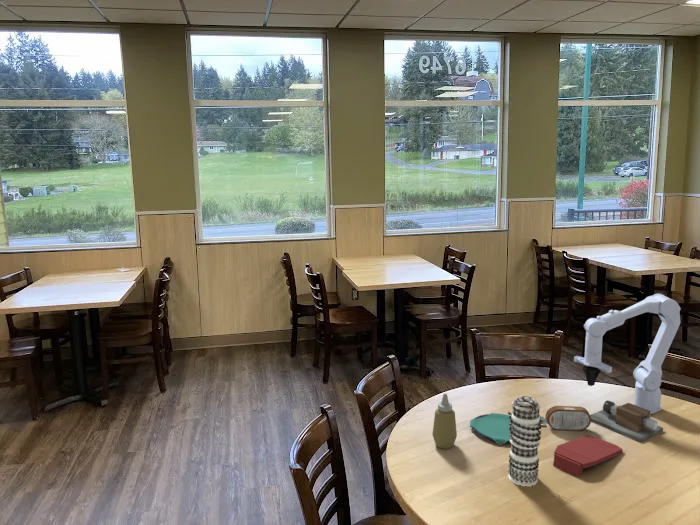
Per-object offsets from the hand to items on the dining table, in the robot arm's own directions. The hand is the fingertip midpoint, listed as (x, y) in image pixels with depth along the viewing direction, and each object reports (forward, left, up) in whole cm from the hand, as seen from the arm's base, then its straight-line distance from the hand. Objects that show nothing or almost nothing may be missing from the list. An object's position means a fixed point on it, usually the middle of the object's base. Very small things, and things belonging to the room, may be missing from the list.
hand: (591, 385), depth 207 cm
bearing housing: (+2, +15, -9) cm, 18 cm away
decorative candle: (+58, +18, -10) cm, 61 cm away
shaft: (+2, +17, -7) cm, 19 cm away
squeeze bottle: (+64, -10, -10) cm, 65 cm away
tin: (+21, +6, -10) cm, 24 cm away
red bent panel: (+32, +21, -10) cm, 39 cm away
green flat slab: (+36, -6, -10) cm, 38 cm away
